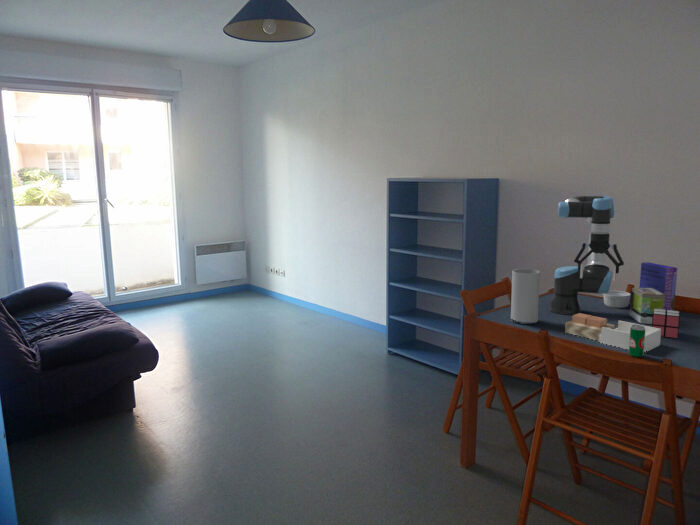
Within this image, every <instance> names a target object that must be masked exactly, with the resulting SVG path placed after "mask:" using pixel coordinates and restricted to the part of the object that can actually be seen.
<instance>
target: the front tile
mask: <svg viewBox="0 0 700 525" xmlns="http://www.w3.org/2000/svg"><path fill="white" fill-rule="evenodd" d="M591 316H592V317H589V318H587V321H586V325H588V326H593V327H597V328H601V327H604V326H606V325H607V324H608V318H605V317H600V316H595V315H591Z"/></svg>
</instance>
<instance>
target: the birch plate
mask: <svg viewBox="0 0 700 525" xmlns="http://www.w3.org/2000/svg"><path fill="white" fill-rule="evenodd" d="M604 327H605V328H610V329H615V327H616V326H615V324H612V323H607V325H606V326H604ZM601 331H602V327H601V328H597V327H593V326H588V325H584V324H579V323H575V322H572V320H569V321H566V322H565V326H564V334H566V333H569V334H568V335H570V334H573V335H572V336H574V335H578V336H577V337H579V336H581V337H580V338H583V337H585V338H584V339H587V338H589V339H588V340H591V339H593V340H592V341H595V340H597V341H596V342H599V335H600V334H601Z"/></svg>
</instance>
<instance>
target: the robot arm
mask: <svg viewBox="0 0 700 525" xmlns="http://www.w3.org/2000/svg"><path fill="white" fill-rule="evenodd" d="M614 205H615V204H614V199H613V197H612V196H610V195H608V196H607V195H578V196H574V197H570V198H568V199H566V200H565V201H560V202H558V207H557V216H558V217H559V218H564V219H565V218H572V219H573V218H574V219H575V218H577V219H578V218H580V219H581V218H583V219H584V218H586V222H587V223H588V224H589V227H588V243H587V242H583V243H582V245H581V249H580V251H579V252H578V253H577V255H576V257H575V258H574V261H573V262H574V263H576V264H577V266H575V265H573V266H572V265H571V266H569V265H567V266H561V267H558V268H556V269H555V270H554V284H553V286H554V287H553V297H552V299H551V302H550V304H549V311H550V312H551V313H555V314H558V315H559V314H560V315H575V314H578V313H581V312H582V306H581V303H580V300H579V293H585V294H598V295H599V294H600V295H601V294H602V295H603V294H606V293H608V292H609V291H610V287H611V283H612V281H613V282H615V281H616V279H617V278H616V276H617V274H619V273H620V267H621V266H624V264H625V262H624V260H623V258H622V256H621V254H620V252H619V249H618V246H617V243H614V244H610V235H611V234H610V231H611V220H612V218H613V219H614V217H615V206H614ZM587 248H588V251H587V253H586V254H585V255H584V256H583V257H581V256H582V254H583V253H584V251H585V250H586V249H587ZM610 248H611V250H613V252H614V254H615V256H616V258H617V260H618V261H617V260H616V258H615V257H614V256H613V255H612V253H611V252H610V251H609V249H610ZM607 257H608V258H609V259H610V260H611V262H612V263H613V265H614V266H613V271H612V270H610V267H609V265H607ZM580 258H581V259H580ZM579 259H580V260H579ZM586 259H587V264H586V265H584V263H583V262H585V260H586ZM581 314H582V313H581Z"/></svg>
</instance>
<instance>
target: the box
mask: <svg viewBox="0 0 700 525" xmlns="http://www.w3.org/2000/svg"><path fill="white" fill-rule="evenodd" d="M617 323H618V325H617V327H614V329H610V328H605V327H602V331H601V334H600V335H599V341H598V343H599V342H600V343H599V344H602V343H603V344H602V345H606V344H607V345H606V346H610V345H612V346H611V347H614V346H616V347H615V348H618V347H620V348H619V349H622V348H623V350H626V349H628V350H627V351H629V341H630V328H631V327H632V325H642V326H644V328H645V341H644V352H645V353H647V352H649V351H651V350H653V349H655V348H657V347H660V345H661V338H662V337H661V329H659V328H654V327H652V326H650V325H649V326H648V325H645V324H641V323H639V324H638V323H636V322H635V323H634V322H629V321H623V320H618V322H617ZM646 351H647V352H646Z"/></svg>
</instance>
